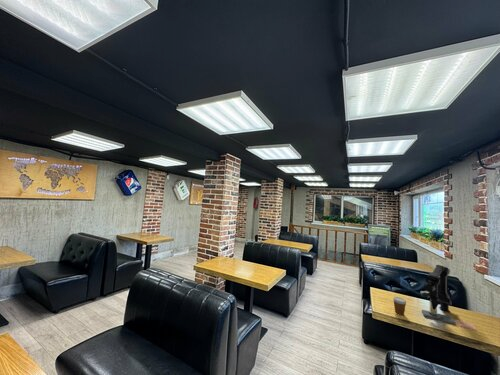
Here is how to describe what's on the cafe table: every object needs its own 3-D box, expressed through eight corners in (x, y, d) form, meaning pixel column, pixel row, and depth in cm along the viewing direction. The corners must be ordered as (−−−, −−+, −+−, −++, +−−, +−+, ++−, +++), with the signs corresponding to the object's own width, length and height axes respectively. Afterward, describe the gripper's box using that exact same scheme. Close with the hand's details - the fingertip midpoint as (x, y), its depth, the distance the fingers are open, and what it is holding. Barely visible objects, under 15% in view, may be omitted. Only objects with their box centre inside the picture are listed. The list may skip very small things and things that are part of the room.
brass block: (429, 310, 180) (429, 300, 180) (435, 311, 177) (435, 302, 178) (430, 312, 176) (430, 302, 177) (436, 313, 174) (436, 304, 175)
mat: (454, 320, 173) (454, 319, 173) (471, 324, 168) (471, 323, 168) (459, 325, 165) (459, 325, 165) (477, 330, 160) (477, 329, 160)
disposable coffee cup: (400, 317, 173) (400, 302, 174) (390, 311, 182) (390, 297, 183) (409, 316, 176) (409, 301, 176) (398, 310, 185) (398, 296, 186)
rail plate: (421, 311, 184) (421, 309, 184) (451, 319, 174) (451, 316, 174) (424, 316, 176) (424, 314, 176) (456, 325, 166) (455, 322, 166)
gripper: (419, 284, 190) (419, 301, 189) (423, 291, 174) (423, 309, 173) (434, 287, 185) (434, 305, 183) (441, 294, 169) (441, 314, 167)
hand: (433, 308), depth 177 cm, fingers closed on brass block, 4 cm apart
